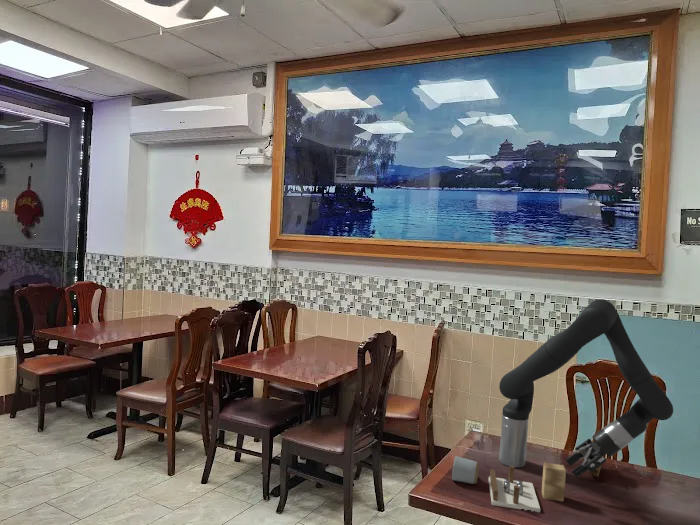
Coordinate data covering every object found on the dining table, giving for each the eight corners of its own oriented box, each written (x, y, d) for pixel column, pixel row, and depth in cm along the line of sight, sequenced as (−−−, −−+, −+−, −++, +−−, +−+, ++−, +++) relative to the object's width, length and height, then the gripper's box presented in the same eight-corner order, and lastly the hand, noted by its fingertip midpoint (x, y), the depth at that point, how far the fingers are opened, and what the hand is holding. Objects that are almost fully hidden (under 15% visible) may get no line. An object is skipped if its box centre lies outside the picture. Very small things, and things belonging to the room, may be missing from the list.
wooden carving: (589, 464, 192) (592, 438, 191) (603, 467, 189) (605, 441, 189) (586, 481, 177) (589, 453, 177) (601, 485, 175) (603, 456, 174)
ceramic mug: (476, 488, 167) (478, 465, 167) (451, 483, 169) (452, 460, 169) (478, 475, 177) (480, 453, 177) (454, 471, 179) (455, 449, 179)
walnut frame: (512, 480, 171) (513, 466, 171) (518, 504, 156) (519, 488, 156) (490, 477, 173) (491, 463, 173) (493, 500, 157) (494, 484, 157)
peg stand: (531, 486, 171) (532, 483, 171) (540, 512, 154) (540, 508, 154) (488, 480, 173) (488, 476, 173) (491, 504, 157) (492, 501, 157)
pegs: (521, 490, 165) (522, 480, 165) (522, 496, 161) (523, 486, 161) (503, 487, 166) (504, 478, 166) (504, 493, 162) (505, 483, 162)
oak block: (560, 495, 166) (563, 465, 165) (563, 501, 162) (565, 470, 161) (541, 492, 167) (543, 462, 166) (543, 498, 163) (545, 467, 162)
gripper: (598, 420, 167) (558, 450, 170) (611, 436, 154) (567, 468, 156) (614, 439, 167) (573, 468, 169) (628, 456, 153) (584, 488, 155)
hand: (570, 468), depth 163 cm, fingers open, 8 cm apart
